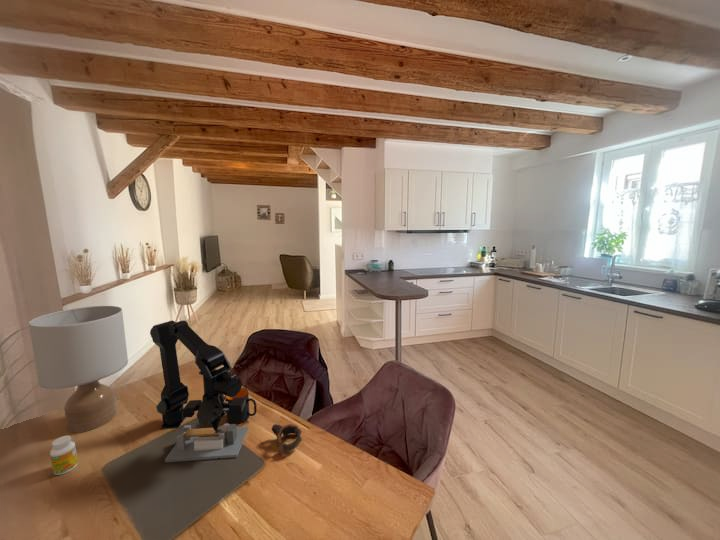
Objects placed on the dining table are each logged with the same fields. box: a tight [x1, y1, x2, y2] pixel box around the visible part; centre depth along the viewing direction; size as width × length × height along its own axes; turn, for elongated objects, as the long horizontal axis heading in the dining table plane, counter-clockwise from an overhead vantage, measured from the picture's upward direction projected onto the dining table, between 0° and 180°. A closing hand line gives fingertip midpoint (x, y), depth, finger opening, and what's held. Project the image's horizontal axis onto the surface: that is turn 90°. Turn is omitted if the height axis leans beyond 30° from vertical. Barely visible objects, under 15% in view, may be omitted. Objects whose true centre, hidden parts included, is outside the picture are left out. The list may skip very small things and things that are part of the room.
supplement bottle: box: [49, 435, 79, 476], centre depth 88 cm, size 5×5×10 cm
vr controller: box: [271, 423, 303, 455], centre depth 99 cm, size 12×10×8 cm
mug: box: [224, 387, 258, 426], centre depth 112 cm, size 8×12×10 cm
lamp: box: [28, 305, 129, 433], centre depth 107 cm, size 24×24×42 cm
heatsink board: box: [164, 423, 249, 463], centre depth 98 cm, size 22×13×6 cm, turn 96°
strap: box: [180, 424, 229, 438], centre depth 98 cm, size 15×3×2 cm, turn 96°
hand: (216, 429), depth 98 cm, fingers closed
